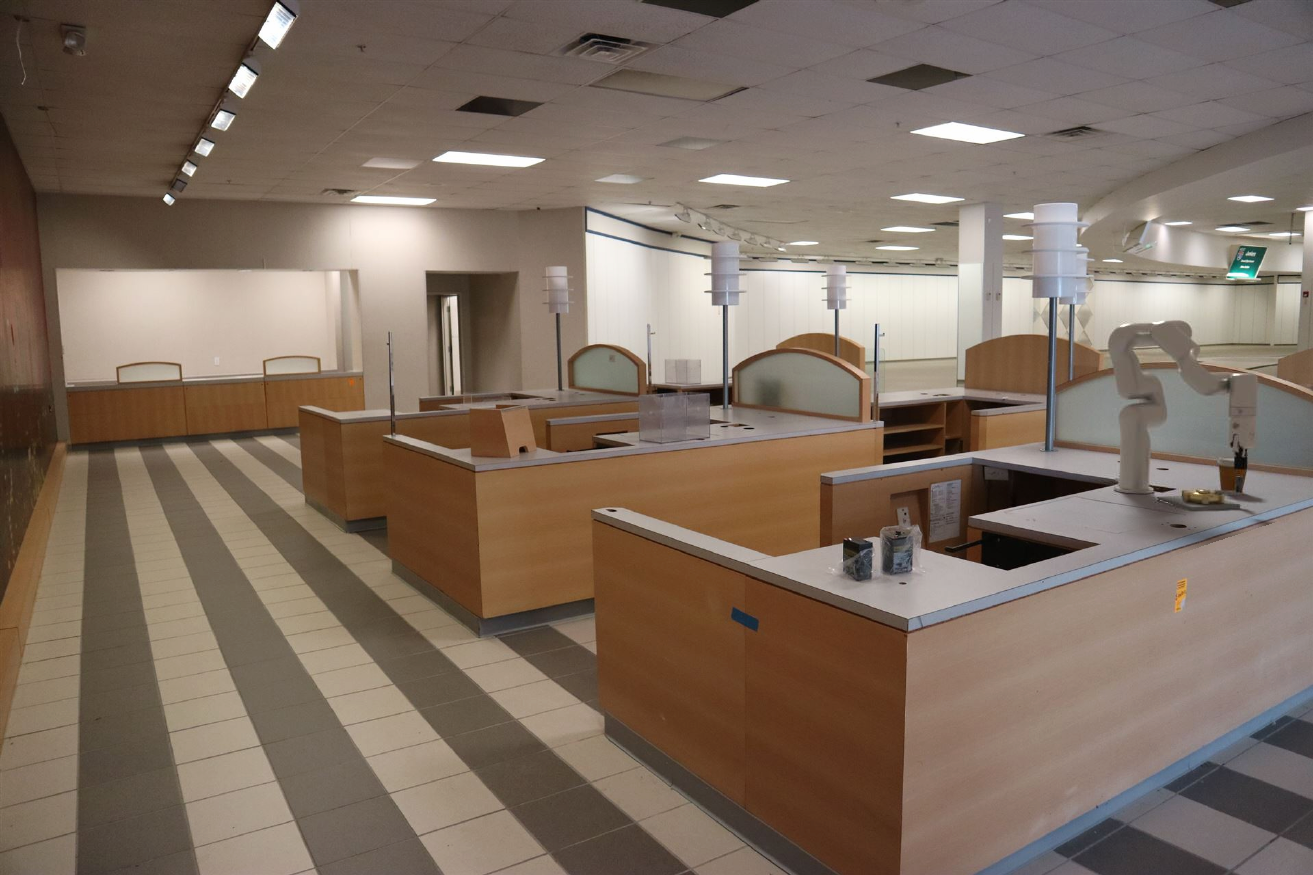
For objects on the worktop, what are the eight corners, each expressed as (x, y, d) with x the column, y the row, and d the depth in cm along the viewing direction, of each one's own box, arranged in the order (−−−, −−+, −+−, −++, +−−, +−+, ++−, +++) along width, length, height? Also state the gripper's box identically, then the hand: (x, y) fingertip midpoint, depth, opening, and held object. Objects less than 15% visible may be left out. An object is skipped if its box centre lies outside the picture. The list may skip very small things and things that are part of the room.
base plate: (1156, 500, 305) (1157, 496, 305) (1203, 498, 307) (1203, 494, 307) (1191, 510, 289) (1191, 506, 288) (1240, 508, 290) (1240, 504, 290)
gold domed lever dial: (1184, 503, 293) (1186, 477, 292) (1180, 495, 305) (1181, 471, 304) (1245, 506, 287) (1246, 479, 285) (1238, 498, 298) (1239, 473, 297)
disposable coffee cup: (1215, 489, 321) (1217, 456, 320) (1247, 491, 316) (1249, 457, 315) (1215, 493, 313) (1217, 460, 312) (1248, 496, 308) (1250, 461, 307)
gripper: (1246, 414, 277) (1244, 473, 279) (1264, 410, 286) (1262, 467, 288) (1219, 413, 283) (1218, 470, 285) (1238, 409, 292) (1236, 465, 294)
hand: (1240, 468), depth 287 cm, fingers closed
